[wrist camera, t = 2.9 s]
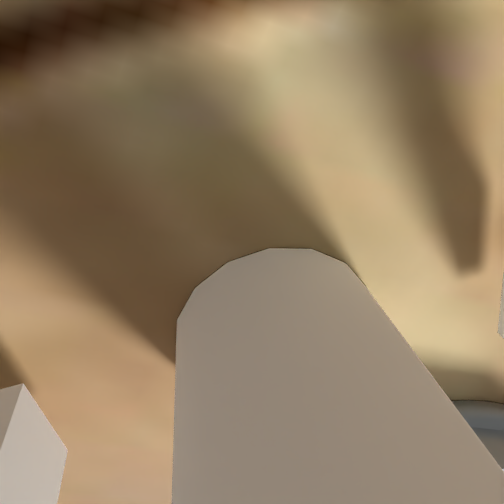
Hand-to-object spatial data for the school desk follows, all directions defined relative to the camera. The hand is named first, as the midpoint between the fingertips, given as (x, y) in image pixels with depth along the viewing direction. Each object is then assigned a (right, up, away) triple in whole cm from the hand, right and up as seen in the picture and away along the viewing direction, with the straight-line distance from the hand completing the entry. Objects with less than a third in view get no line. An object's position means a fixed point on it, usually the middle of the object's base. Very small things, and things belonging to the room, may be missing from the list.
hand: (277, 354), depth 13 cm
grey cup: (0, 0, +1) cm, 1 cm away
